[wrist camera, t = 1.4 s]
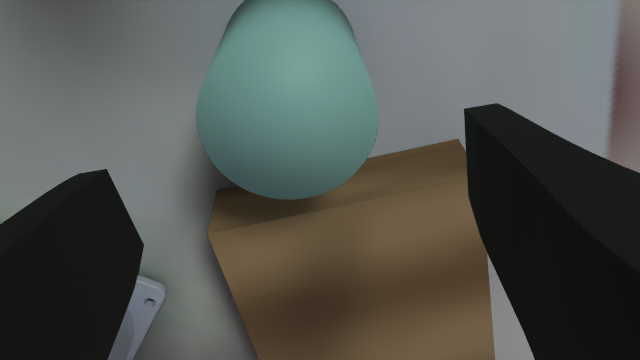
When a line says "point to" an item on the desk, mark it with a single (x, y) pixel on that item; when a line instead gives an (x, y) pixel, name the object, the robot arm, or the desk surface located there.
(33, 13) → the desk surface
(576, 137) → the desk surface
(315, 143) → the teal tapered rounded part
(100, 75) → the desk surface
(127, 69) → the desk surface
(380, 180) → the block
